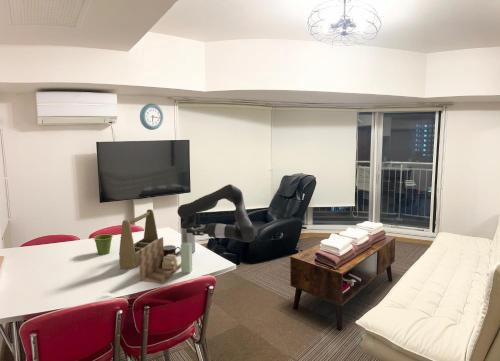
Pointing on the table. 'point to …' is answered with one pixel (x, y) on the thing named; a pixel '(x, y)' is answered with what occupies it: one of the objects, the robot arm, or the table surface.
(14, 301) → the table surface
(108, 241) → the plant pot
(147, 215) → the caddy
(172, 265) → the offcut
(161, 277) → the rack
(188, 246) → the sage green pillar
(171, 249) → the coffee mug
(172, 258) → the offcut
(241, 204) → the robot arm
